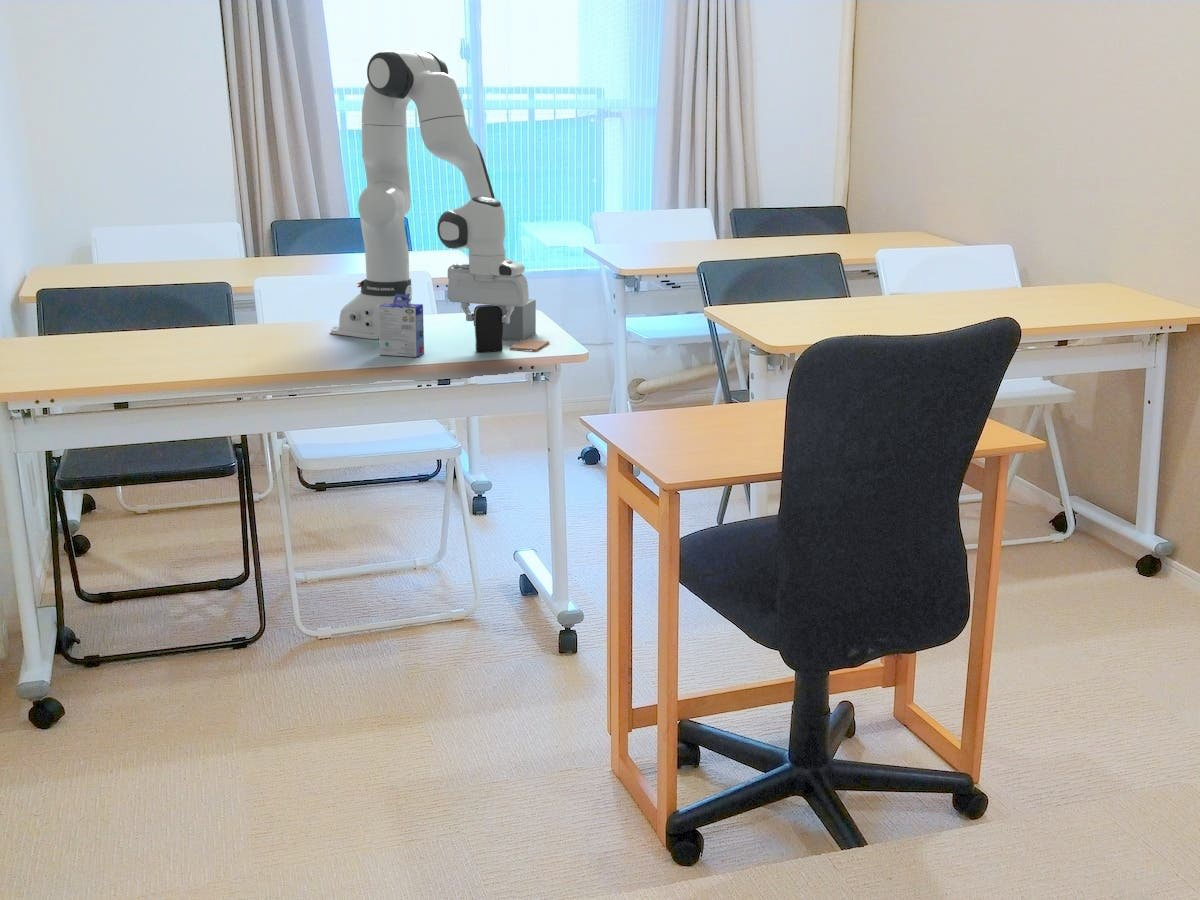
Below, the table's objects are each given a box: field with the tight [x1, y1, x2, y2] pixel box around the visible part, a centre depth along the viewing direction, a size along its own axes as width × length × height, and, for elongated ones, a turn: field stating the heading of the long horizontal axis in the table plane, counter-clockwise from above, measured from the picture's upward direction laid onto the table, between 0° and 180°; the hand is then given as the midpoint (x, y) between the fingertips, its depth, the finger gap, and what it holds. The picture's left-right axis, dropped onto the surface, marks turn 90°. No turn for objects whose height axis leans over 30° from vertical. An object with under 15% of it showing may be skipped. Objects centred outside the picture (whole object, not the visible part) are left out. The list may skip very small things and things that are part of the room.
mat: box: [509, 339, 550, 352], centre depth 297 cm, size 7×10×1 cm
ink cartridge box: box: [378, 294, 425, 358], centre depth 284 cm, size 10×6×14 cm, turn 79°
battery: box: [473, 304, 504, 353], centre depth 290 cm, size 7×4×11 cm, turn 109°
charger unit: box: [497, 298, 537, 341], centre depth 308 cm, size 8×10×9 cm
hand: (487, 322), depth 290 cm, fingers open, 8 cm apart
